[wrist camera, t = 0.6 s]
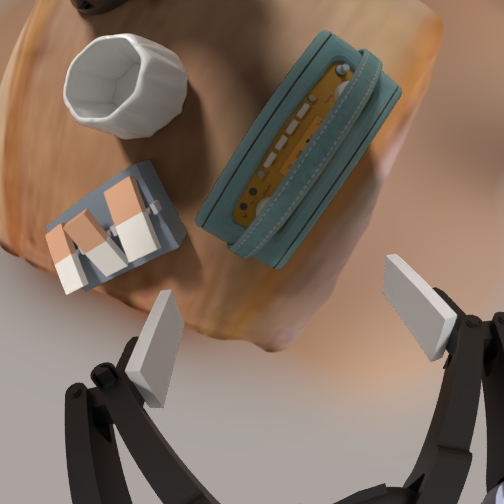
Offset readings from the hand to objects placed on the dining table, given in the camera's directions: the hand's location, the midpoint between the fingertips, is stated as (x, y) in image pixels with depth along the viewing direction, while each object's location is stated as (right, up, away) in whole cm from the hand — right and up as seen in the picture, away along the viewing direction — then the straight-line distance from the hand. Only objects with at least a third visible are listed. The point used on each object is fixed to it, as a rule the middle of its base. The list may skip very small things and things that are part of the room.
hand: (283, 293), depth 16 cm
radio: (+3, +18, +22) cm, 28 cm away
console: (-24, +7, +25) cm, 36 cm away
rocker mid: (-24, +4, +18) cm, 30 cm away
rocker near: (-17, +7, +17) cm, 25 cm away
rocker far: (-30, +1, +19) cm, 36 cm away
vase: (-17, +26, +18) cm, 36 cm away
